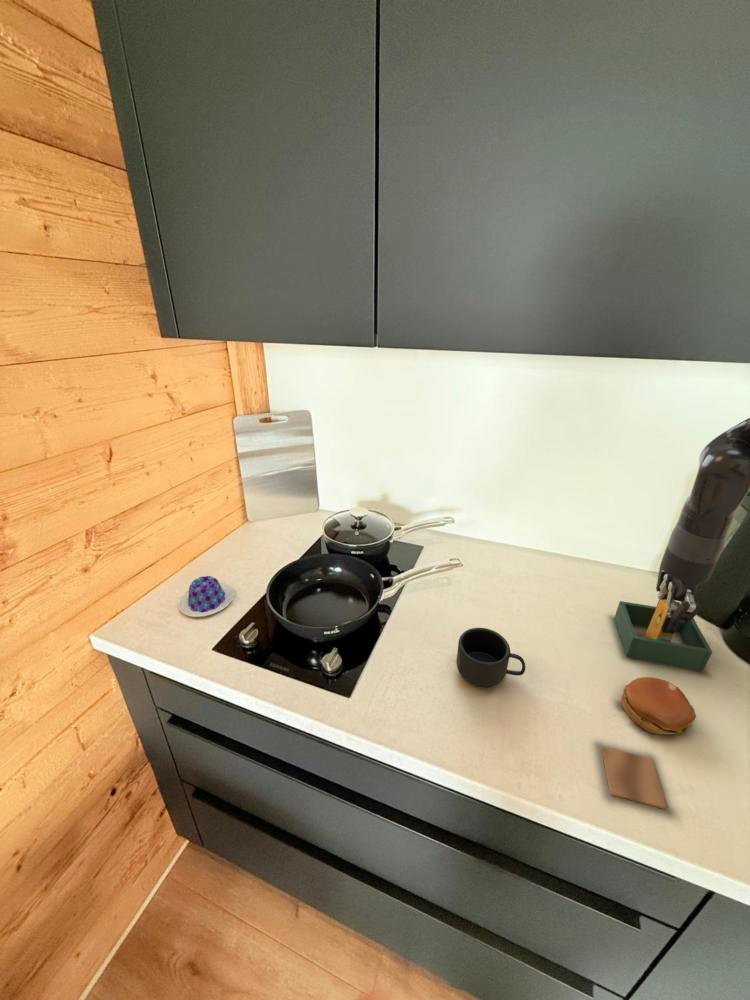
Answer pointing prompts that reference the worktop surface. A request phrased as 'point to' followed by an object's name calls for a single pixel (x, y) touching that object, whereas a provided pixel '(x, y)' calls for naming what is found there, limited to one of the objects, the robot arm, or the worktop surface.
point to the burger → (657, 706)
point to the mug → (484, 658)
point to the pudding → (205, 597)
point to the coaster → (633, 777)
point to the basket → (659, 651)
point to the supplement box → (659, 623)
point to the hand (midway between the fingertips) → (663, 623)
